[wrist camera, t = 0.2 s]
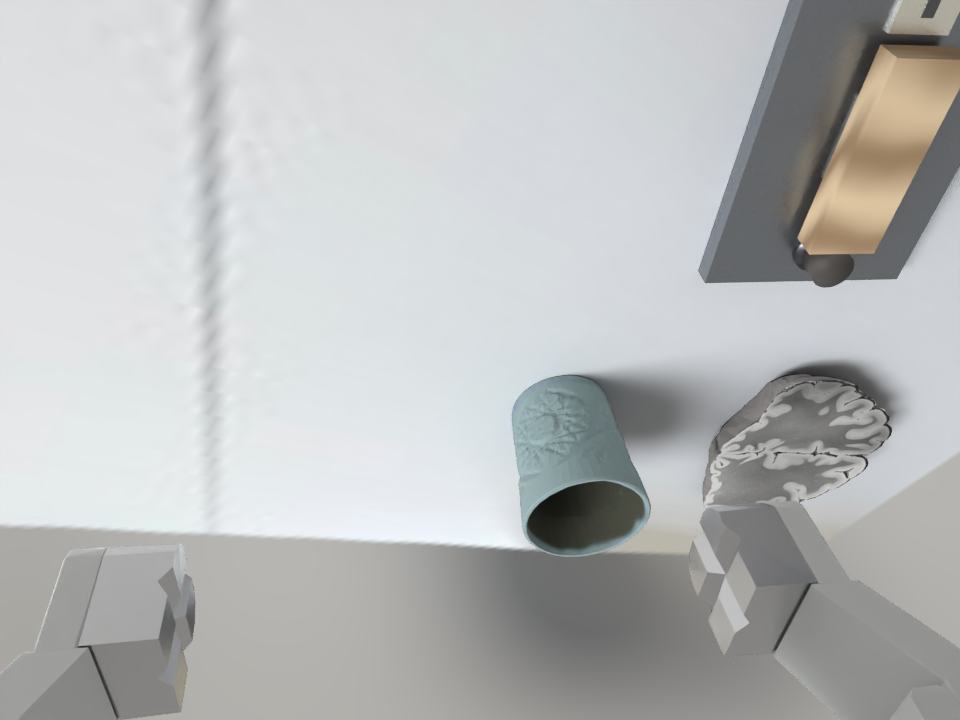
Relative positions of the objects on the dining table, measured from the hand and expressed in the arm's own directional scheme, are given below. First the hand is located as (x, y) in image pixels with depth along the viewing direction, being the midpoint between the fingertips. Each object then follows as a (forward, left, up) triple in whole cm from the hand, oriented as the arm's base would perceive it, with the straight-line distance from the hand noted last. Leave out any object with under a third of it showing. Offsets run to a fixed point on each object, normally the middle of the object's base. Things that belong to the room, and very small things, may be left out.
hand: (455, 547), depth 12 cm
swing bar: (+15, +33, -37) cm, 51 cm away
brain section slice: (+45, +40, -39) cm, 71 cm away
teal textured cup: (+40, +16, -39) cm, 58 cm away
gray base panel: (+11, +33, -39) cm, 52 cm away
